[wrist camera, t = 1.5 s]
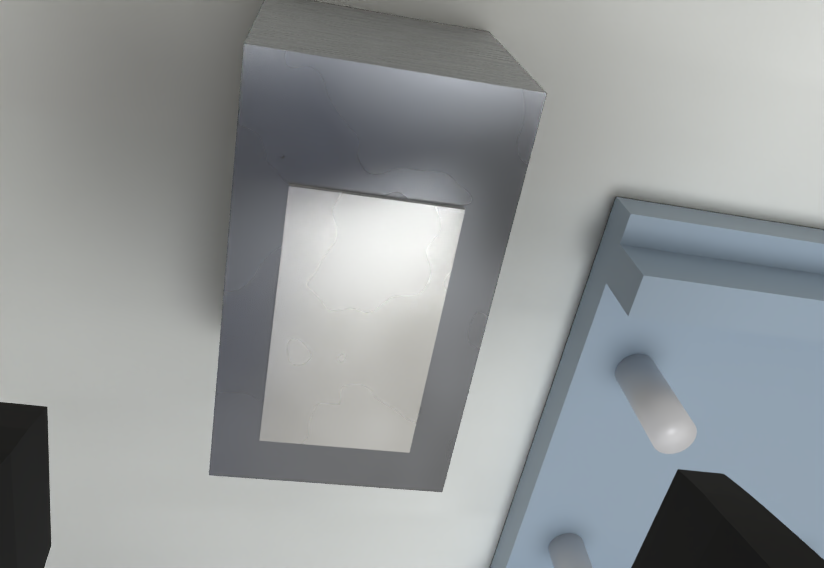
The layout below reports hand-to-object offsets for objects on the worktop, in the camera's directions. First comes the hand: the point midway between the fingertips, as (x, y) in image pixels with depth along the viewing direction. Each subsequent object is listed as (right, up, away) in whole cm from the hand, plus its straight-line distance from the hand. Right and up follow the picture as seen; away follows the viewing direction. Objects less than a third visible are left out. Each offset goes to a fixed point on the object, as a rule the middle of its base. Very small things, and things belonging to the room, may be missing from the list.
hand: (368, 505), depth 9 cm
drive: (-1, +5, +9) cm, 10 cm away
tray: (+9, -2, +13) cm, 16 cm away
